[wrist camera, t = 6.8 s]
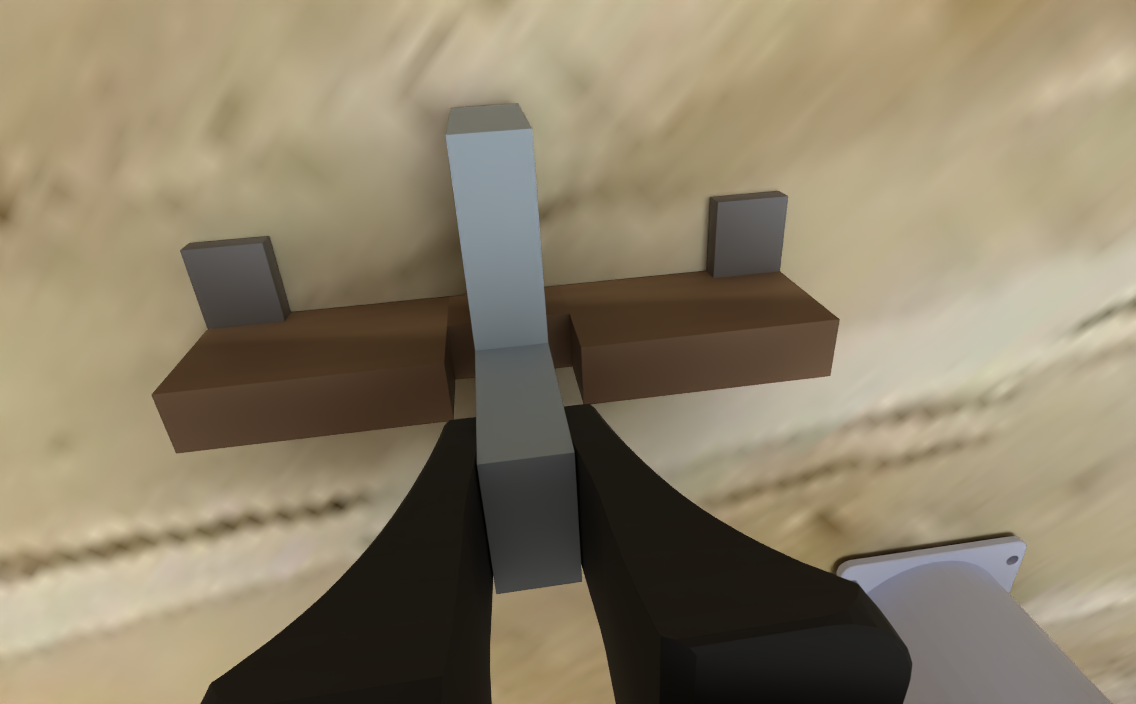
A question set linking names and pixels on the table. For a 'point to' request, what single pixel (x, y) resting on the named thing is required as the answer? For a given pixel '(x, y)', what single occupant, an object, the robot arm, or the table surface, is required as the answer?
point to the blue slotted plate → (498, 220)
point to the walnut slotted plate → (446, 346)
